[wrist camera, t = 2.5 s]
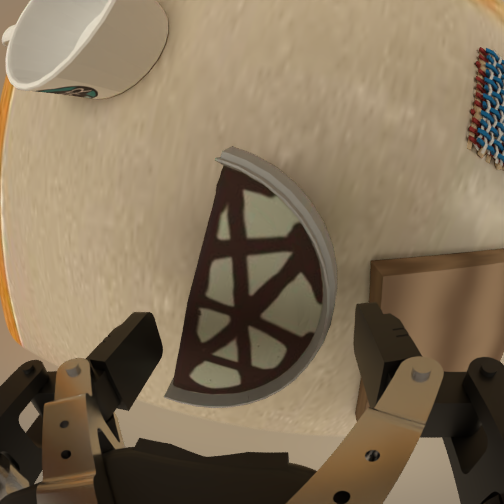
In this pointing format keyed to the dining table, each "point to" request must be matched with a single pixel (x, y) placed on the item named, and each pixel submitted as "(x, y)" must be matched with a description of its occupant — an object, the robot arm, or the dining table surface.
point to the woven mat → (489, 108)
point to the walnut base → (444, 306)
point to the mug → (84, 46)
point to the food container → (255, 289)
